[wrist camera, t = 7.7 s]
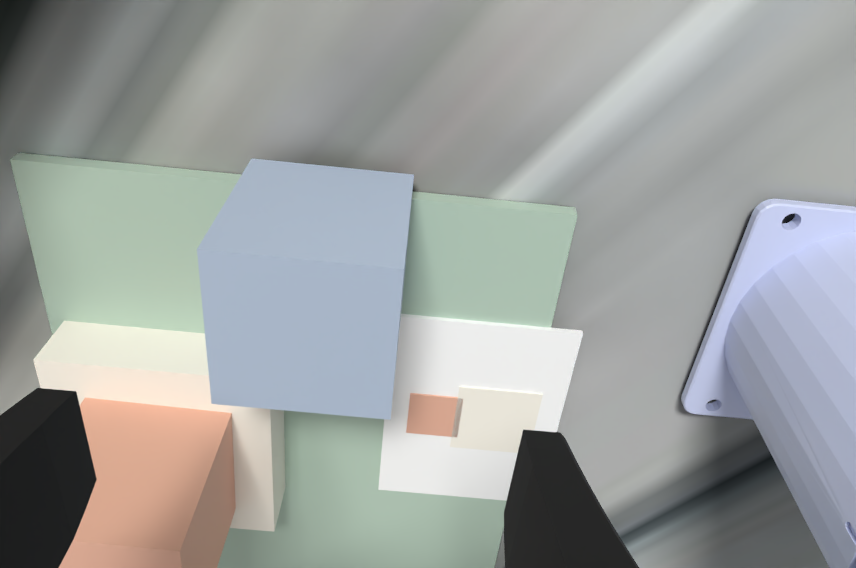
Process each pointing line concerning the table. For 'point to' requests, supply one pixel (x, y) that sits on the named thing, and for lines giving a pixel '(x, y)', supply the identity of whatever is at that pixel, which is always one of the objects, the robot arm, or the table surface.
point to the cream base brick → (170, 398)
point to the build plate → (303, 432)
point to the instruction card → (470, 402)
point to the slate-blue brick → (306, 289)
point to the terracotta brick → (155, 487)
